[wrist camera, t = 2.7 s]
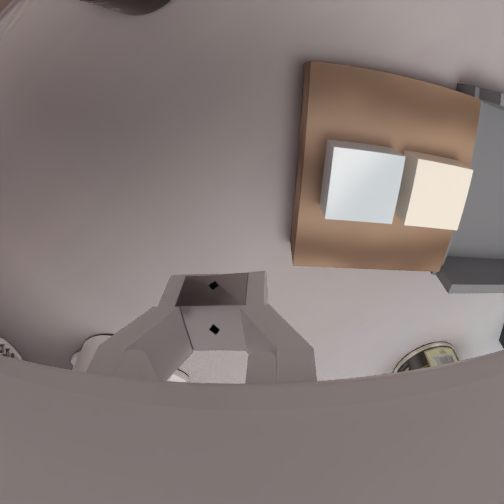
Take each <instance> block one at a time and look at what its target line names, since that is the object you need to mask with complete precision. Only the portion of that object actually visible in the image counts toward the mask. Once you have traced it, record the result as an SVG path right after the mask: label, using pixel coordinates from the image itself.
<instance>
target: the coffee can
mask: <svg viewBox="0 0 504 504" xmlns="http://www.w3.org/2000/svg"><path fill="white" fill-rule="evenodd" d="M457 361H459V358H458V356H457V354H456V352H455V349H454V347H453V346H452V345H451V344H449V343H446V342H436V343H431V344H428V345H425V346H422V347H420V348H418V349H416V350H414V351H413V352H411V353H410V354H408V355H407V356H406V357H404V358H403V359H402V360H401V361H400V362H399V363H398V365H397V366H396V368H395V370H394V372H393V373H396V372H403V371H409V370H415V369H421V368H427V367H432V366H438V365H443V364H448V363H452V362H457Z"/></svg>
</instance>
